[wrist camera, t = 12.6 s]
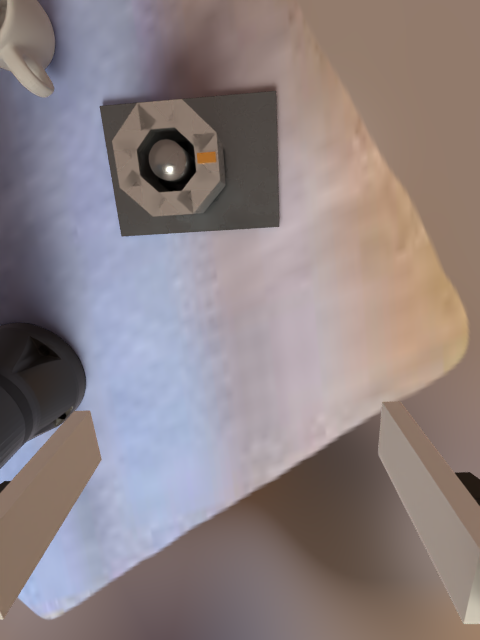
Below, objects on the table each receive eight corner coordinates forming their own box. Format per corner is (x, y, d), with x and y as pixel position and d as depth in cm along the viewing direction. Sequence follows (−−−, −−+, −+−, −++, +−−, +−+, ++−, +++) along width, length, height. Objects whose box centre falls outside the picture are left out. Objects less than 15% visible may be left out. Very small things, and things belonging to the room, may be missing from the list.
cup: (99, 85, 34) (55, 50, 27) (41, 129, 36) (-17, 108, 28) (31, -30, 31) (-40, -106, 24) (-29, 23, 33) (-114, -33, 25)
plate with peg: (124, 235, 39) (92, 242, 31) (103, 108, 35) (60, 80, 27) (278, 226, 38) (284, 230, 30) (275, 93, 34) (281, 59, 26)
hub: (145, 217, 36) (123, 218, 30) (131, 123, 33) (105, 104, 27) (227, 211, 36) (222, 211, 30) (220, 115, 33) (213, 95, 27)
